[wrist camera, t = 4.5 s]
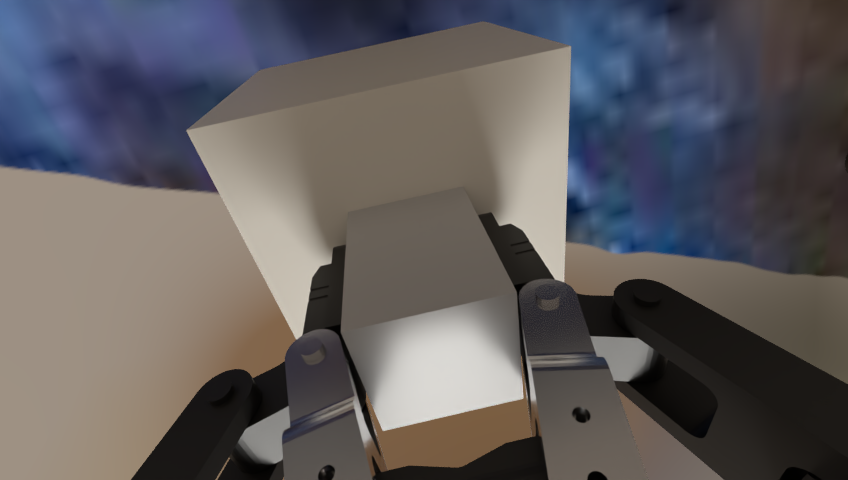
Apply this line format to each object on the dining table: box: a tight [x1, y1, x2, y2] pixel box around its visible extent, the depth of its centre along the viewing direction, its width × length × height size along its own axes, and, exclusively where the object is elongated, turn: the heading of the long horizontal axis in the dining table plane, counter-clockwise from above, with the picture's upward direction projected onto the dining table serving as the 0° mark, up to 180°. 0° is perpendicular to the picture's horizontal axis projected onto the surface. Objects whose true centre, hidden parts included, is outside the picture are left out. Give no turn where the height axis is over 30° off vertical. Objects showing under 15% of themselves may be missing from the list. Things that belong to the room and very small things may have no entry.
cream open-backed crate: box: [186, 21, 571, 431], centre depth 15 cm, size 10×10×14 cm
